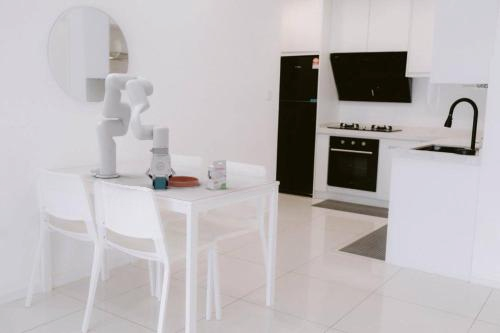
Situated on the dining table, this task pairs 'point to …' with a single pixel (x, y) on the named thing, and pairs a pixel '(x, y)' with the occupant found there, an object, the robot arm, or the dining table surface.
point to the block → (160, 182)
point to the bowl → (183, 181)
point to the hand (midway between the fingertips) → (160, 187)
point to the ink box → (217, 175)
